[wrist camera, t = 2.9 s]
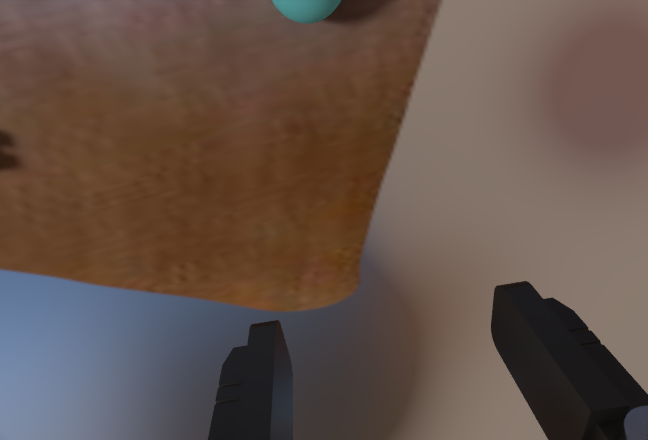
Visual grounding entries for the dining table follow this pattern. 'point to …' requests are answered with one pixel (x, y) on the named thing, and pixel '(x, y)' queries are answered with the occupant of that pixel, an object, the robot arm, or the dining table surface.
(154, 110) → the dining table surface
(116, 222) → the dining table surface
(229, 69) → the dining table surface
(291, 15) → the ball
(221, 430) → the robot arm
